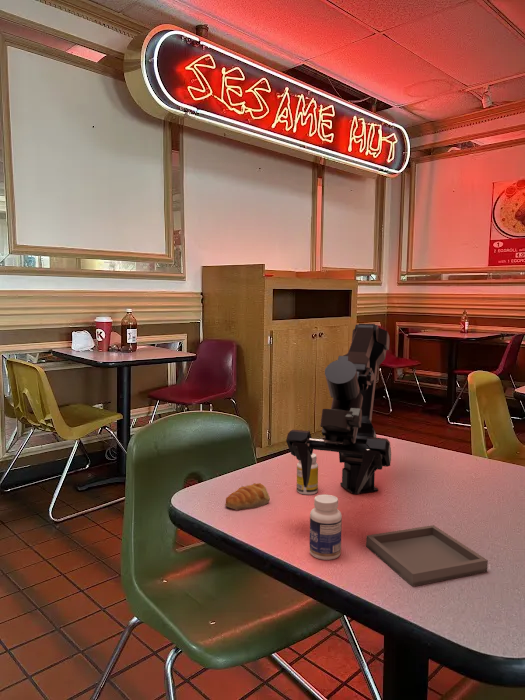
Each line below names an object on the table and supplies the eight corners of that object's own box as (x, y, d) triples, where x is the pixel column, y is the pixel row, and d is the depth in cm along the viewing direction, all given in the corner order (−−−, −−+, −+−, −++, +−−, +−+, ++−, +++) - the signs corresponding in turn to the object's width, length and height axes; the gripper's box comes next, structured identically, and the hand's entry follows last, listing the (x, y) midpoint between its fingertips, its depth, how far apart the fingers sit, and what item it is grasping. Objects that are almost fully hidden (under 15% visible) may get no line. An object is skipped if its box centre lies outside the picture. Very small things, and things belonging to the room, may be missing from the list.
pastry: (237, 515, 110) (237, 497, 110) (217, 505, 115) (217, 488, 115) (272, 503, 116) (272, 486, 116) (252, 495, 121) (252, 478, 121)
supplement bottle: (319, 489, 125) (320, 453, 124) (315, 496, 120) (315, 459, 119) (299, 486, 126) (300, 450, 125) (293, 493, 122) (294, 456, 121)
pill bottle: (306, 546, 96) (307, 493, 95) (336, 545, 97) (338, 492, 96) (312, 561, 91) (313, 504, 90) (344, 560, 92) (345, 504, 90)
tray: (433, 535, 101) (433, 525, 101) (487, 572, 88) (487, 560, 88) (366, 546, 97) (366, 535, 96) (412, 586, 83) (413, 574, 83)
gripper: (289, 387, 102) (269, 461, 93) (391, 394, 96) (381, 474, 87) (300, 419, 111) (283, 490, 101) (395, 428, 104) (385, 504, 95)
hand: (330, 489), depth 96 cm, fingers open, 9 cm apart
